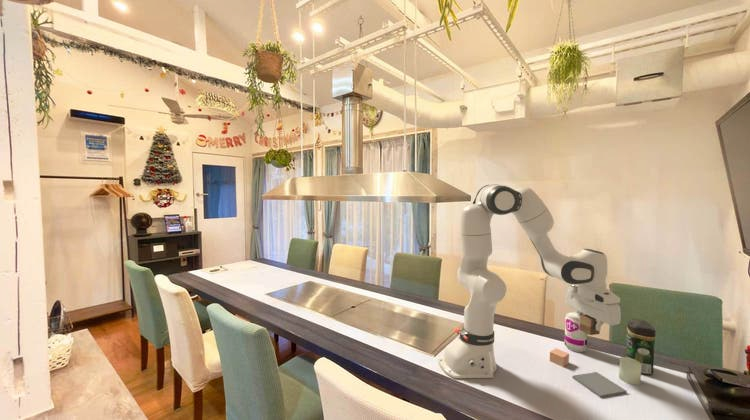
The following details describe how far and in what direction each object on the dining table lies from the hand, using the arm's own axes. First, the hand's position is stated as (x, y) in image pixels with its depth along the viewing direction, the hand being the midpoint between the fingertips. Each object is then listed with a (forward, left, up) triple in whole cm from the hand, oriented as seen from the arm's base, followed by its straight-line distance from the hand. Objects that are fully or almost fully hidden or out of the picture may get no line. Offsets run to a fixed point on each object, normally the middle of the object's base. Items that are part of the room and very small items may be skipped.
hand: (589, 326), depth 117 cm
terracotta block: (-7, +6, -17) cm, 19 cm away
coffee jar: (+20, -4, -17) cm, 26 cm away
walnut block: (0, 0, -2) cm, 2 cm away
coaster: (-5, -9, -17) cm, 20 cm away
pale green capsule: (+9, -9, -17) cm, 21 cm away
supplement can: (+9, +14, -17) cm, 24 cm away
